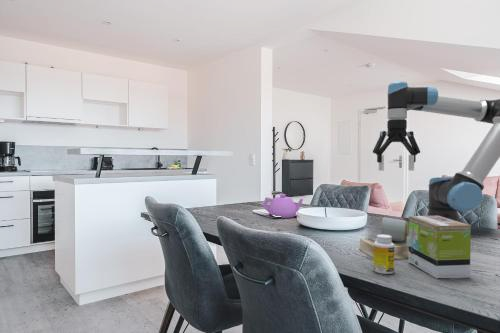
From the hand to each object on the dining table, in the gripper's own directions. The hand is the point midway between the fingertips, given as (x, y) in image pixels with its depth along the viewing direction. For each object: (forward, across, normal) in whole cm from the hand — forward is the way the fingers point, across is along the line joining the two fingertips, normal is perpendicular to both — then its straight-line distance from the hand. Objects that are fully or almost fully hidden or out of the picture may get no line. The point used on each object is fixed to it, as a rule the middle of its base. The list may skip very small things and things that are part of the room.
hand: (396, 170), depth 153 cm
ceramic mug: (+23, +17, +28) cm, 40 cm away
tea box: (+27, +15, +47) cm, 56 cm away
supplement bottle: (+27, +31, +46) cm, 62 cm away
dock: (+27, +18, +29) cm, 43 cm away
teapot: (+27, +36, -51) cm, 68 cm away
